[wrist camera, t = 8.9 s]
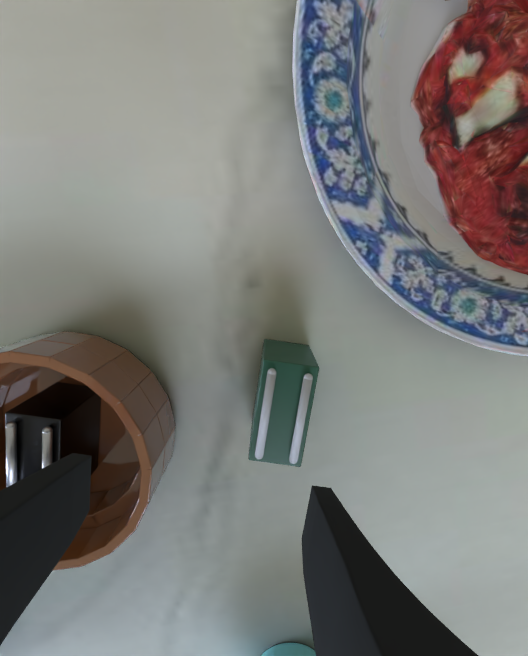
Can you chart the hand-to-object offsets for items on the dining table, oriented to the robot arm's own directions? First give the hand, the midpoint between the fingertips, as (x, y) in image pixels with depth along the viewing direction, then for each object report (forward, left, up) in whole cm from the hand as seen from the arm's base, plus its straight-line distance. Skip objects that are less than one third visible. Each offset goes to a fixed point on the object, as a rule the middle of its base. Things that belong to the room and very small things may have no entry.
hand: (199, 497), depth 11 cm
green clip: (+1, -3, -9) cm, 9 cm away
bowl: (-3, +8, -9) cm, 12 cm away
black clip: (-3, +8, -8) cm, 12 cm away
